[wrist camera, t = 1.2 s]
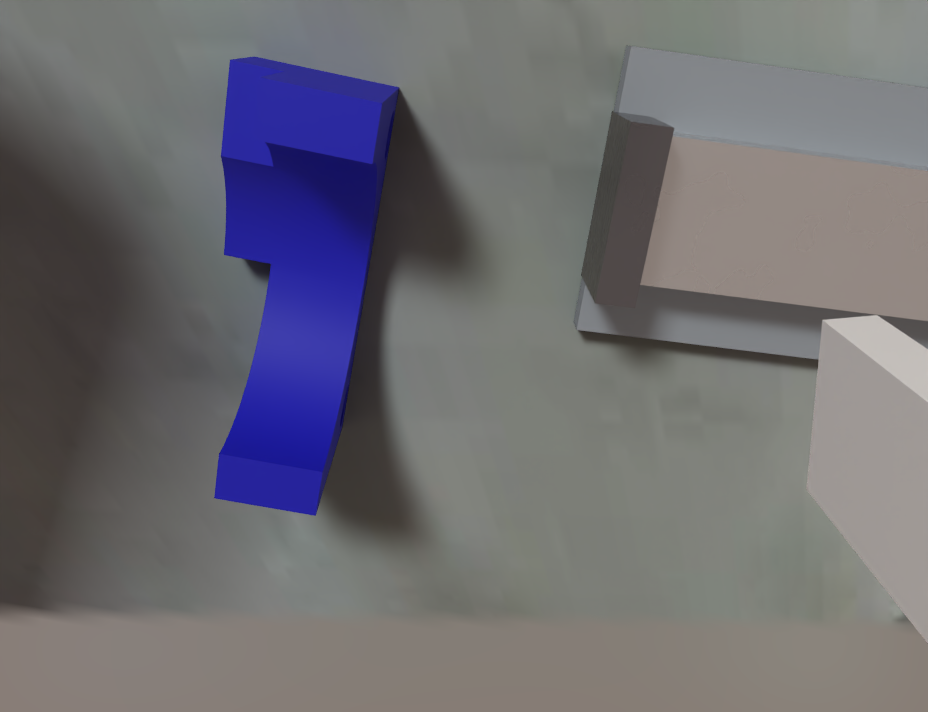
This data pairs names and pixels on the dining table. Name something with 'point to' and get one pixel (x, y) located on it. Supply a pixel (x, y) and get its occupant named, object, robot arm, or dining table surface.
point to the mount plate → (765, 122)
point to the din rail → (756, 223)
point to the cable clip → (299, 264)
